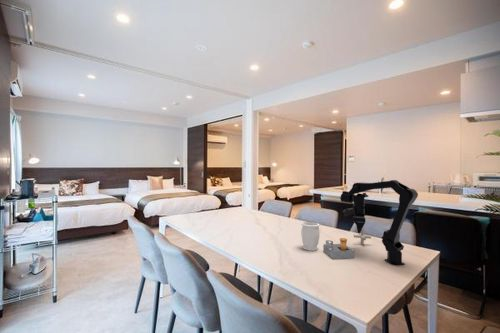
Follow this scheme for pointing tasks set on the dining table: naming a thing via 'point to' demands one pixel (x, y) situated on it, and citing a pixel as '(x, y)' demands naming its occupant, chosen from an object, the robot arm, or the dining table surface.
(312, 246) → the jar
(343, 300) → the dining table surface
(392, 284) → the dining table surface
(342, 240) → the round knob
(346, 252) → the grey slotted base
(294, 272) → the dining table surface
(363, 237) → the pipe connector
